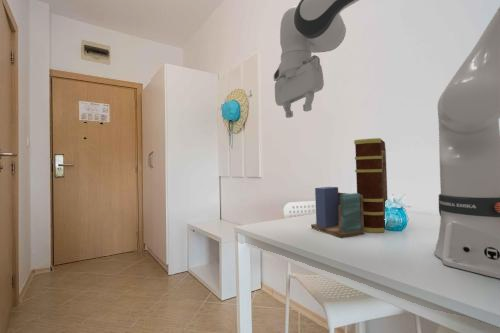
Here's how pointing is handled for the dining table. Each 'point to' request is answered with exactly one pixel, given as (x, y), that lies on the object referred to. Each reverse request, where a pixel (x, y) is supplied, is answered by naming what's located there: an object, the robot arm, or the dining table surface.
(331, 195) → the navy book
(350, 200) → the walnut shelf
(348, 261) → the dining table surface
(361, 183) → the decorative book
